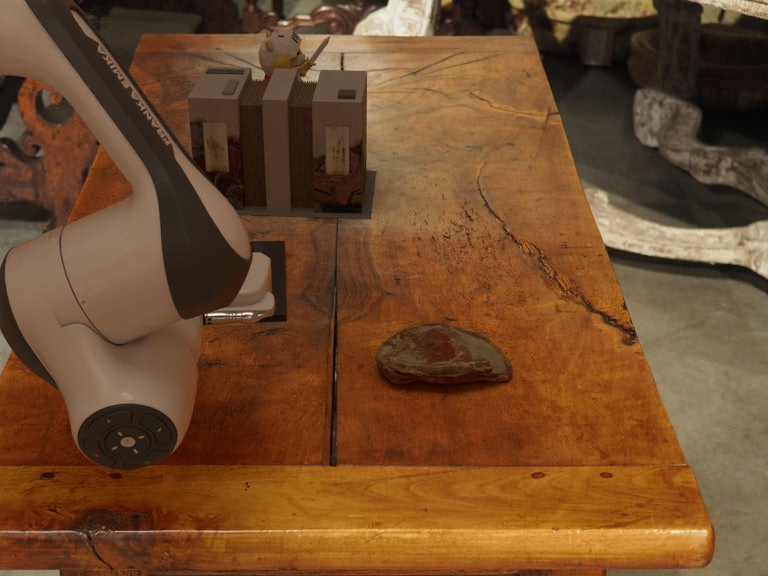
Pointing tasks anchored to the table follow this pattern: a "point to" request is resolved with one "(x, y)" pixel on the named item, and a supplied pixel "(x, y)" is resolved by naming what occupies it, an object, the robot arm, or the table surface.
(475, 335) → the stone
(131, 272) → the robot arm
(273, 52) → the figurine
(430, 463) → the table surface
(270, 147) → the bookend
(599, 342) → the table surface
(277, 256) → the base pad
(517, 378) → the table surface
